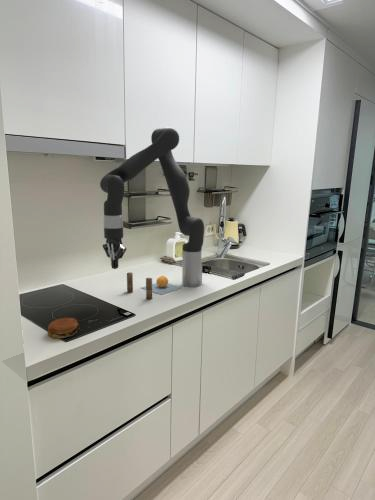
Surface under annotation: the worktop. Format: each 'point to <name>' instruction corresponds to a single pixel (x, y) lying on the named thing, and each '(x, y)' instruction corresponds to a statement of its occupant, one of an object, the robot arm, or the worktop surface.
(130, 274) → the post
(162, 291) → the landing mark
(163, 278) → the ball
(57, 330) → the burger
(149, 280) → the post
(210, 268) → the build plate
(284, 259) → the worktop surface
